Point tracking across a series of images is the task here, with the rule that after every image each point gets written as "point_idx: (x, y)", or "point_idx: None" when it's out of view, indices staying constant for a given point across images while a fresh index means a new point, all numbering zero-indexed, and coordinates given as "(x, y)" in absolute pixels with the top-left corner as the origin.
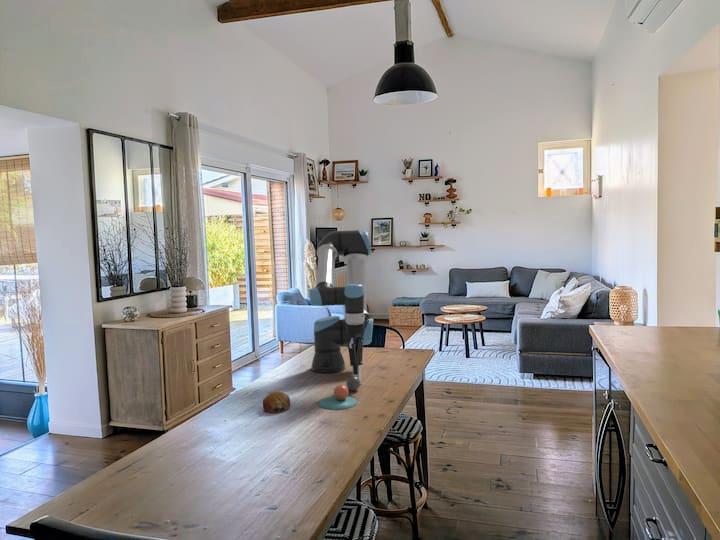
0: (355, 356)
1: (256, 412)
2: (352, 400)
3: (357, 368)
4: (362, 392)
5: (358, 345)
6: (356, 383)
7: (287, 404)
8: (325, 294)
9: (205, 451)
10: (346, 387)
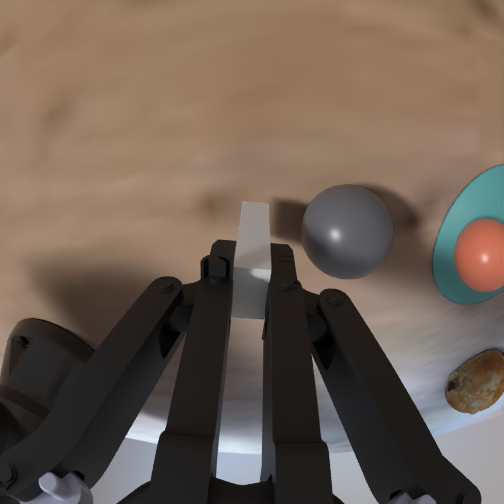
0: (383, 372)
1: None
2: (490, 187)
3: (273, 270)
4: (373, 154)
5: (319, 498)
6: (387, 209)
7: (501, 358)
8: None
9: None
10: (501, 245)
